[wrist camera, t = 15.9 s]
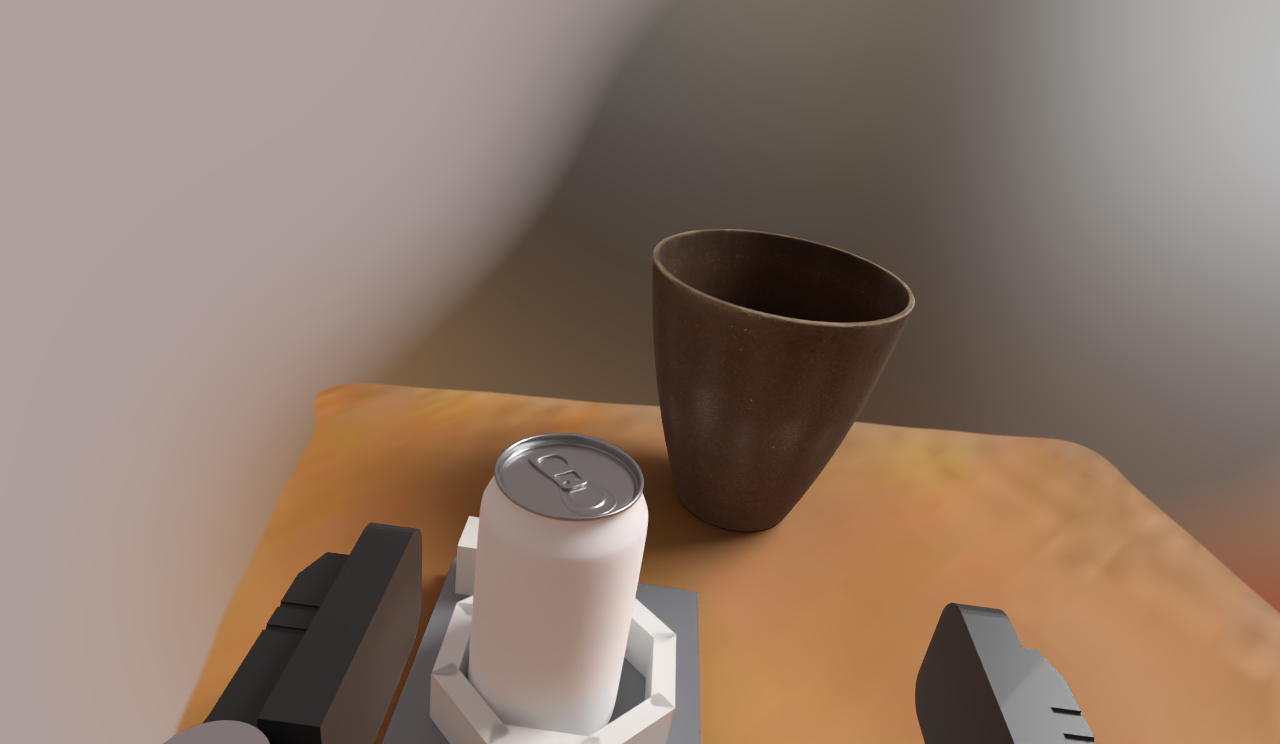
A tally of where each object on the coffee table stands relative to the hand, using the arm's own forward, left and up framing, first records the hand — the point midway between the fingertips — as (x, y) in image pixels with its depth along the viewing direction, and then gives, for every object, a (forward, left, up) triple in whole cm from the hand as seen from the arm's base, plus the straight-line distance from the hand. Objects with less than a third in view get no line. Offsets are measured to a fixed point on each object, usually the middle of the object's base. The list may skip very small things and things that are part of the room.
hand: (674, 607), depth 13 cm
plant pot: (-7, -35, -22) cm, 42 cm away
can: (+3, -16, -21) cm, 26 cm away
